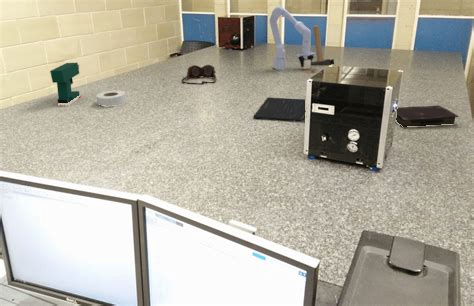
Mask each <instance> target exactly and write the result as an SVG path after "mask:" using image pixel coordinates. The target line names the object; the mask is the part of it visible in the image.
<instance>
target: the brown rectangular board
mask: <svg viewBox="0 0 474 306" xmlns="http://www.w3.org/2000/svg"><path fill="white" fill-rule="evenodd" d="M296 70H297V71H300V72H303V73H306V74H309V75H311V74H317V72H319V71H321V70H319V69H317V68H316V66H310V68H309V69H303V68H301V67H300V68H296ZM319 73H320V72H319Z"/></svg>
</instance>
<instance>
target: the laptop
mask: <svg viewBox="0 0 474 306" xmlns="http://www.w3.org/2000/svg"><path fill="white" fill-rule="evenodd" d="M305 99H306V98H304V99H303V98H286V97H285V98H283V97H267V98H266V99H265V100H264V102H263V103H262V104H261V106H260V107H259V108H258V110H257V111H256V112H255V114H253V116H252V117H253V119H255V118H256V120H265V119H266V120H271V121H287V122H294V121H296V122H297V121H300V122H303V121H304V120H305V119H306V118H305V112H306V110H305Z"/></svg>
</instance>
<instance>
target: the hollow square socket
mask: <svg viewBox="0 0 474 306" xmlns="http://www.w3.org/2000/svg"><path fill="white" fill-rule="evenodd" d="M310 67H312V65H311V60H310V59H308V58H305V59H304V66H303V67H301V66H300V68H303V69H309V68H310Z"/></svg>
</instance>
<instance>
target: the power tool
mask: <svg viewBox="0 0 474 306" xmlns="http://www.w3.org/2000/svg"><path fill="white" fill-rule="evenodd" d="M49 73H50V77H51V83H56V87H57V95H58V96H57V97H58V99H57V104H58V103H68V102H70V101H71V100H73V99H74V98H76V97H77V96H79V95H81V94H80V91H78V90H76V91H75V90H73V91H72V85H73V84H74V80H73V78H74V77H76V76H77V75H79V74H80V64H78V62H65V63H64V64H61V65H59V66H58V67H55V68H54V69H51V70H50V71H49Z"/></svg>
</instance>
